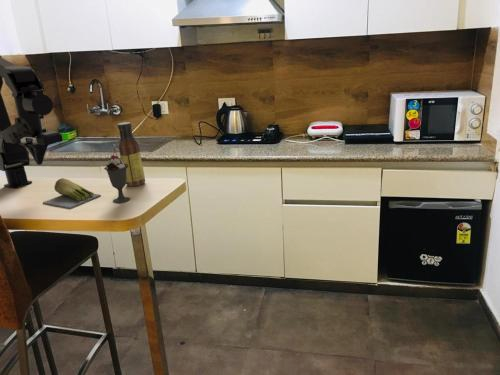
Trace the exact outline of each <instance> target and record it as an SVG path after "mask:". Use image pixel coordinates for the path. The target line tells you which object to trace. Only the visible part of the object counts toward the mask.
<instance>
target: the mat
mask: <svg viewBox="0 0 500 375" xmlns="http://www.w3.org/2000/svg"><path fill="white" fill-rule="evenodd" d="M101 196H102V195H101V194H97V193H94V195H93V196H88V197H85V200H82V199H81V200H79V201H78V200H75V199H74V198H72V197H70V196H68V195H61V194H60V195H58V196H56V197H53V198H51V199H48V200H45V201H43V202H42V204H43V205H48V206H52V207H53V206H54V207H60V208H64V209H70V210H71V209H74V208H76V207H79V206H80V205H83V204H86V203H88V202H90V201H93V200H95V199H98V198H100V197H101ZM83 197H84V196H83Z"/></svg>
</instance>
